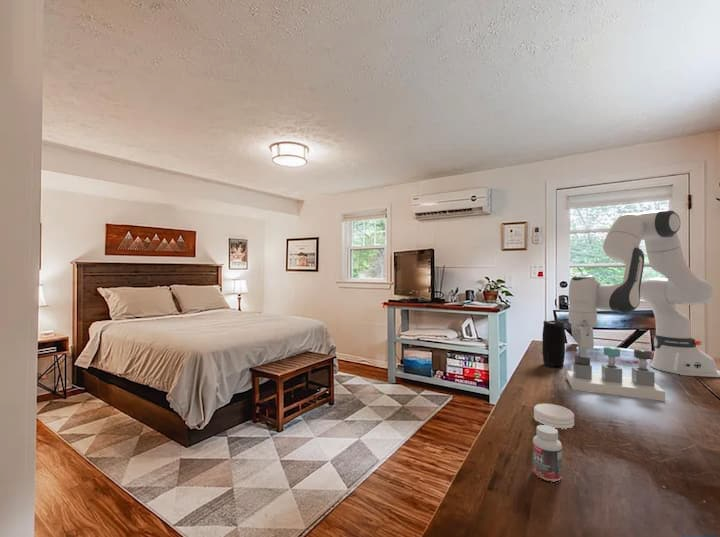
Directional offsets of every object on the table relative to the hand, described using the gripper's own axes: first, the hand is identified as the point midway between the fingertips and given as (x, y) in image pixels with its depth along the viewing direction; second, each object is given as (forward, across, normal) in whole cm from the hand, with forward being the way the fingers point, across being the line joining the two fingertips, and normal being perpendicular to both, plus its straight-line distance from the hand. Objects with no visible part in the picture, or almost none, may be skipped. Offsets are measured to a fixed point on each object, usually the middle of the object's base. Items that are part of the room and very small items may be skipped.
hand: (582, 356), depth 129 cm
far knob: (+6, 0, 0) cm, 6 cm away
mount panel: (+10, 0, -9) cm, 14 cm away
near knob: (+2, 0, -18) cm, 18 cm away
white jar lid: (+11, -39, +13) cm, 43 cm away
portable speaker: (+11, +25, +7) cm, 28 cm away
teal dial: (+2, 0, -9) cm, 9 cm away
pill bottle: (+11, -69, +17) cm, 72 cm away
